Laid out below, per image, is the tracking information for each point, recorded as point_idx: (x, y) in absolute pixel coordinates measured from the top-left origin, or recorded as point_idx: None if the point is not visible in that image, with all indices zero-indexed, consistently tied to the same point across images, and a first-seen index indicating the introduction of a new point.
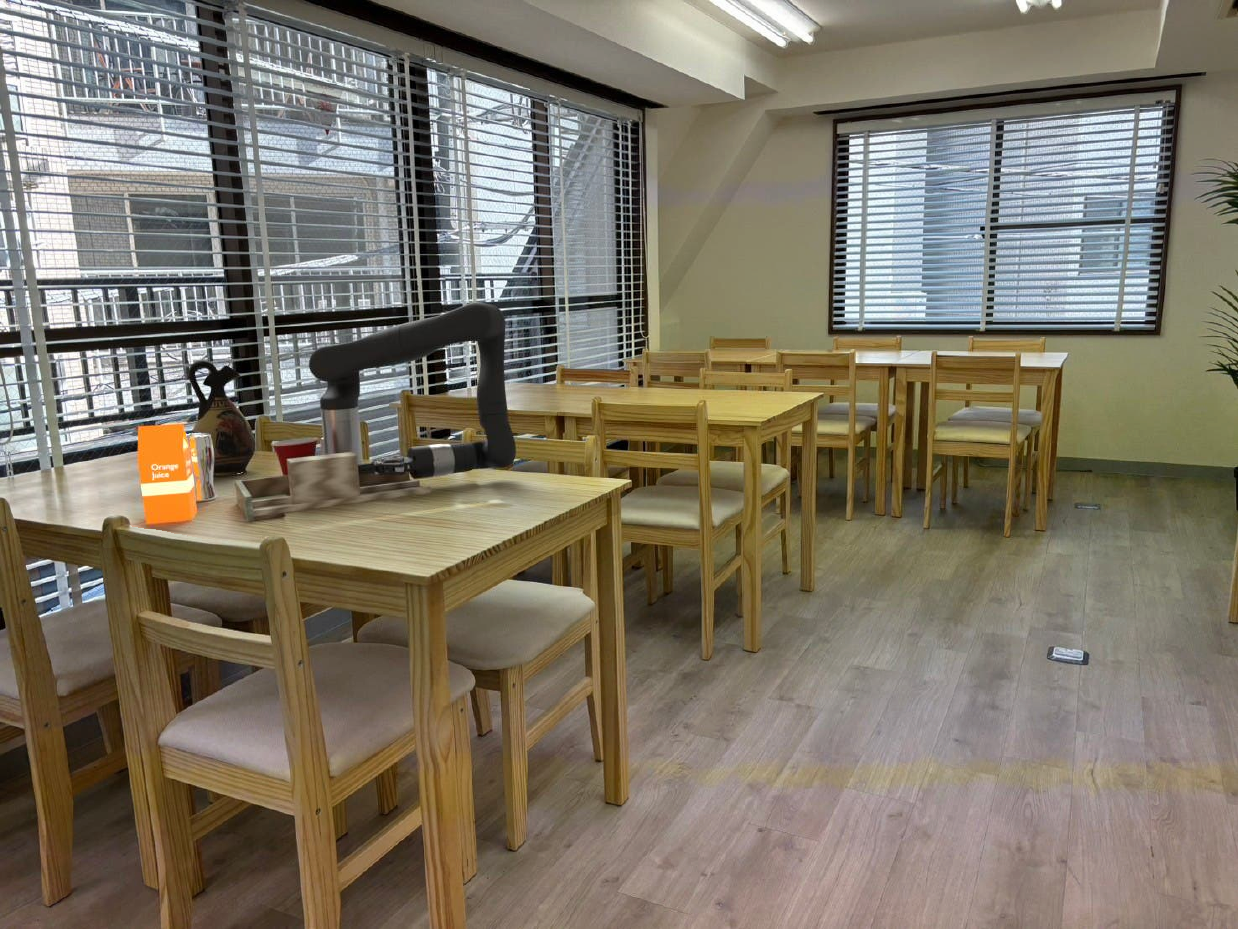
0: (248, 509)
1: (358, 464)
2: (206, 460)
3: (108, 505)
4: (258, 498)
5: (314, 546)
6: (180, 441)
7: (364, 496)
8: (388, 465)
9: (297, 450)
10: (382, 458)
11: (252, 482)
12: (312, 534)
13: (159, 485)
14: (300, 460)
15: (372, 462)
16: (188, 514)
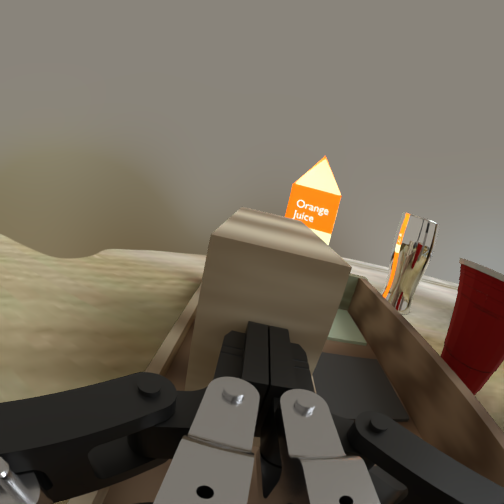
0: None
1: (272, 331)
2: (400, 249)
3: (381, 278)
4: (343, 315)
5: (6, 246)
6: (306, 173)
7: None
8: (53, 403)
9: (468, 284)
10: (341, 460)
11: (363, 288)
12: (41, 266)
13: None
14: (256, 212)
15: (285, 392)
16: None
